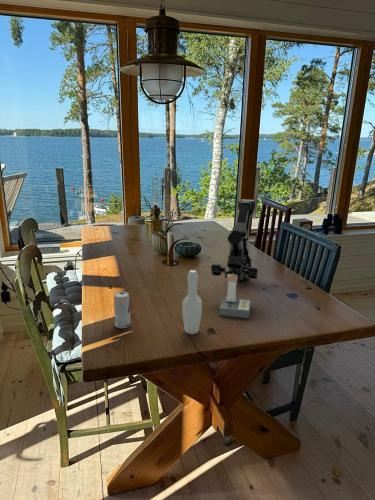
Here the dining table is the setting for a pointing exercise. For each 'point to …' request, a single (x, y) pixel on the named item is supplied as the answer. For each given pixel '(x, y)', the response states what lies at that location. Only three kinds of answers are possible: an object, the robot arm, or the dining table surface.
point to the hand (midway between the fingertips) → (232, 290)
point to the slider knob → (231, 287)
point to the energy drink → (122, 309)
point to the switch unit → (235, 308)
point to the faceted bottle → (192, 305)
